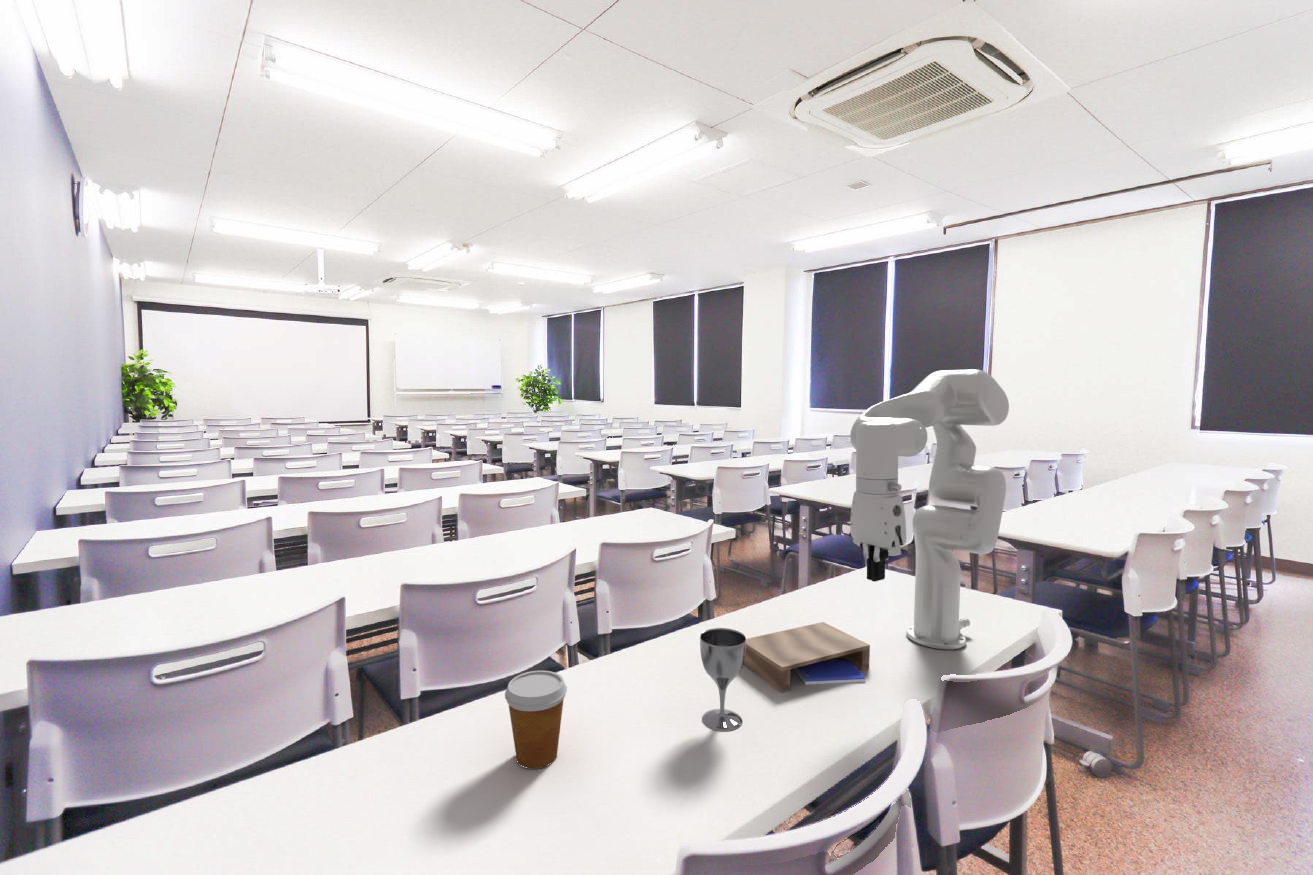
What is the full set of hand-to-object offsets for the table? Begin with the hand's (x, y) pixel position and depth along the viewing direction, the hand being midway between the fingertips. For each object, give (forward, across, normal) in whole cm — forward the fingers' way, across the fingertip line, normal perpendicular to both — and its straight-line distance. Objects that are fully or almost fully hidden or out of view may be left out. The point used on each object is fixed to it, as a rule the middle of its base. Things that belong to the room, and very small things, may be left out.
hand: (875, 579), depth 113 cm
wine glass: (+20, +3, +34) cm, 40 cm away
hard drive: (+22, +8, +5) cm, 24 cm away
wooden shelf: (+21, +13, +7) cm, 26 cm away
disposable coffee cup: (+19, +8, +66) cm, 69 cm away
